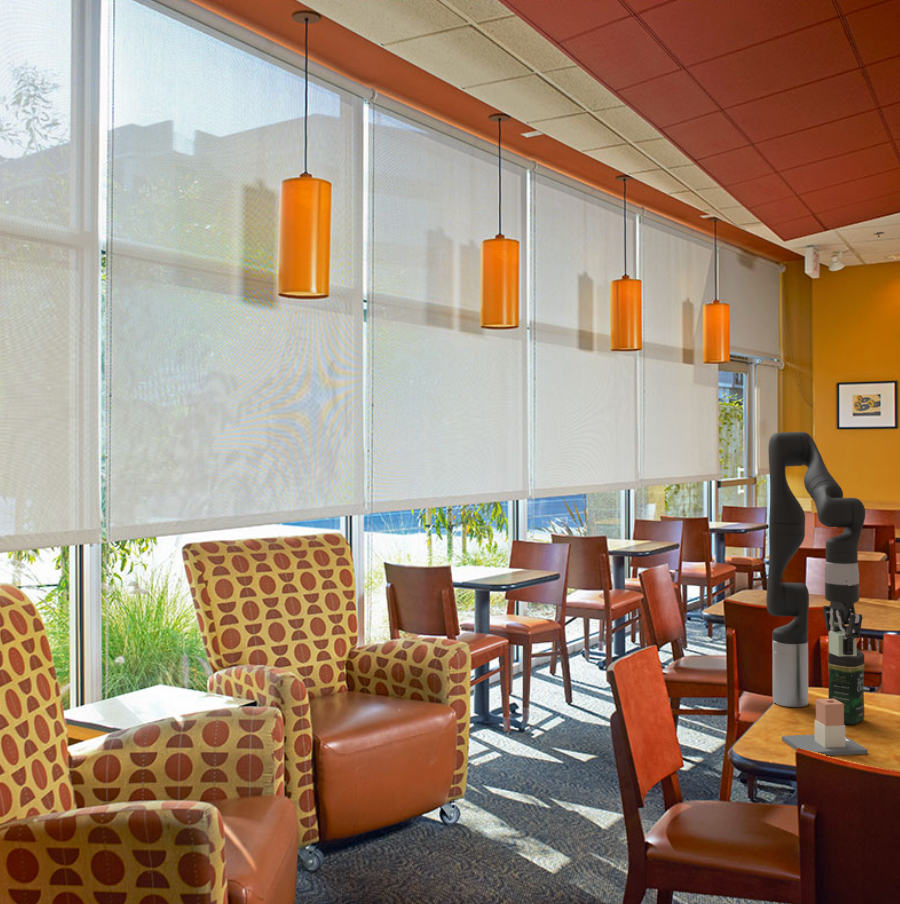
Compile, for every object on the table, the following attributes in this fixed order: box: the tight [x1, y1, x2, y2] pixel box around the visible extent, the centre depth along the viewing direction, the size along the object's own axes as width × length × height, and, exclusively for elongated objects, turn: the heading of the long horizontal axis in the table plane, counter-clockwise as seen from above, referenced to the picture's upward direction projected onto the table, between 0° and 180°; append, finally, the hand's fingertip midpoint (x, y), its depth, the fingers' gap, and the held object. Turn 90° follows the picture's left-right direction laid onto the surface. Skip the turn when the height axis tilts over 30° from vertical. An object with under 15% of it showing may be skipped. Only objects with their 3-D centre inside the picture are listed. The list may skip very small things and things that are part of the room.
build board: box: [781, 719, 869, 757], centre depth 220 cm, size 12×15×6 cm
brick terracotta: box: [815, 698, 845, 726], centre depth 219 cm, size 4×4×5 cm
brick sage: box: [828, 631, 858, 656], centre depth 222 cm, size 4×4×5 cm
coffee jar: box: [827, 648, 866, 725], centre depth 240 cm, size 10×8×19 cm
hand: (842, 652), depth 222 cm, fingers closed on brick sage, 4 cm apart
